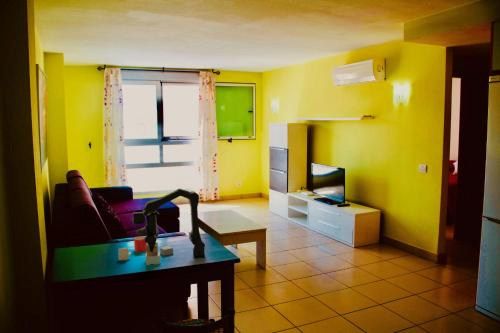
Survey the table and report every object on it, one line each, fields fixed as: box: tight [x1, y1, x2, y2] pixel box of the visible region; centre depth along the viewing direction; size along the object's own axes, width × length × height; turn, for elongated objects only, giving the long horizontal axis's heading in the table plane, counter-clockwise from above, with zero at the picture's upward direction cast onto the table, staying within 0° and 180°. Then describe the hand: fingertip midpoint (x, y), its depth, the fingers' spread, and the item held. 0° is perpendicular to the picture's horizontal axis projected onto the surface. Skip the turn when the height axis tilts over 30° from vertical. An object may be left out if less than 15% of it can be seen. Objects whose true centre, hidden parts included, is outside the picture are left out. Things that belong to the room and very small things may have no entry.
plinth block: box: [145, 251, 161, 266], centre depth 227 cm, size 8×8×5 cm
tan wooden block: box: [159, 245, 174, 257], centre depth 242 cm, size 6×6×4 cm
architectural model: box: [118, 247, 132, 261], centre depth 233 cm, size 3×7×7 cm, turn 105°
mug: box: [133, 235, 147, 253], centre depth 250 cm, size 8×12×8 cm, turn 107°
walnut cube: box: [145, 241, 159, 256], centre depth 226 cm, size 6×6×6 cm
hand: (152, 249), depth 226 cm, fingers open, 9 cm apart
